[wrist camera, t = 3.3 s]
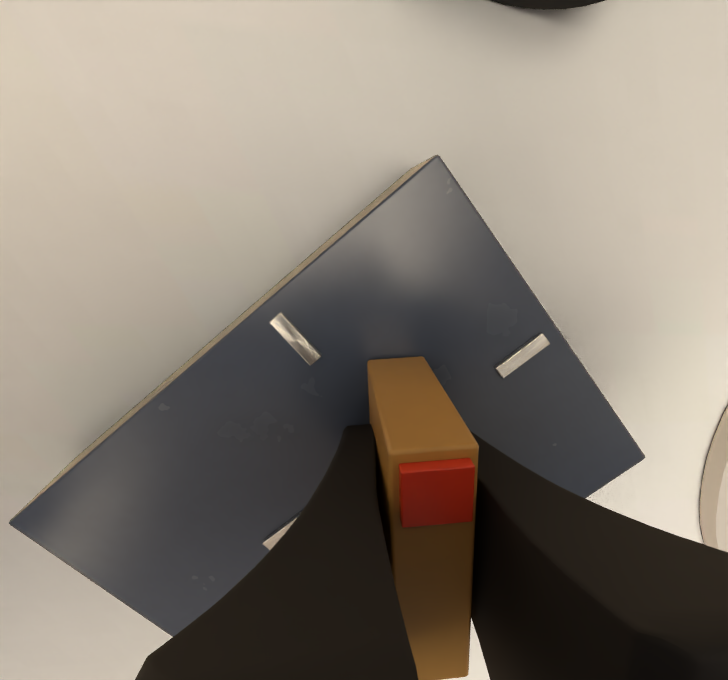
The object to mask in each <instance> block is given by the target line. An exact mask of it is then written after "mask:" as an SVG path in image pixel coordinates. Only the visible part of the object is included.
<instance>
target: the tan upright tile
mask: <svg viewBox="0 0 728 680" xmlns="http://www.w3.org/2000/svg"><path fill="white" fill-rule="evenodd" d="M367 372H368V393H369V415H370V424H371V426H372V428H373V432H374V436H375V443H376V464H377V484H378V505H379V512H380V517H381V522H382V527H383V532H384V537H385V542H386V547H387V552H388V556H389V561H390V565H391V570H392V574H393V579H394V583H395V587H396V592H397V596H398V600H399V604H400V608H401V612H402V616H403V620H404V623H405V627H406V631H407V635H408V639H409V643H410V646H411V650H412V654H413V657H414V661H415V664H416V669H417V675H418V680H441V679H450V678H459V677H466V676H467V675H468V670H469V648H470V626H471V604H472V582H473V560H474V538H475V516H476V495H477V473H478V451H479V446H478V443H477V442H476V440H475V438H474V437H473V435H472V434H471V432H470V430H469V429H468V427H467V426H466V424H465V422H464V421H463V419H462V418H461V416H460V414H459V413H458V411H457V410H456V408H455V406H454V405H453V403H452V402H451V400H450V398H449V397H448V395H447V394H446V392H445V390H444V389H443V387H442V385H441V384H440V382H439V381H438V379H437V377H436V376H435V374H434V373H433V371H432V369H431V368H430V366H429V365H428V363H427V361H426V360H425V358H424V357H422V356H420V357H405V358H391V359H376V360H369V361H368V362H367Z"/></svg>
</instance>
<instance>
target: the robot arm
mask: <svg viewBox="0 0 728 680" xmlns="http://www.w3.org/2000/svg"><path fill="white" fill-rule="evenodd" d="M470 432H471V431H470ZM471 434H472V435H473V437H474V438H475V440H476V442H477V443H478V446H479V451H478V473H477V495H476V516H475V538H474V560H473V582H472V604H471V618H472V621H473V624H474V627H475V630H476V633H477V636H478V639H479V642H480V645H481V649H482V652H483V656H484V659H485V663H486V666H487V670H488V673H489V677H490V680H728V552H725V551H722V550H719V549H716V548H713V547H710V546H707V545H704V544H701V543H698V542H695V541H692V540H688V539H685V538H682V537H679V536H676V535H674V534H671V533H668V532H665V531H663V530H660V529H657V528H654V527H651V526H649V525H646V524H644V523H641V522H639V521H636V520H634V519H631V518H629V517H626V516H624V515H621V514H619V513H616V512H614V511H611V510H609V509H607V508H604V507H602V506H600V505H598V504H595V503H593V502H591V501H589V500H587V499H585V498H583V497H581V496H579V495H577V494H574V493H572V492H570V491H568V490H566V489H564V488H562V487H560V486H558V485H556V484H554V483H553V482H551V481H549V480H547V479H545V478H543V477H542V476H540V475H538V474H536V473H535V472H533V471H531V470H530V469H528V468H526V467H524V466H523V465H521V464H519V463H518V462H516V461H515V460H513V459H511V458H510V457H508V456H507V455H505V454H504V453H502V452H501V451H499V450H498V449H496V448H495V447H493V446H492V445H490V444H489V443H487V442H486V441H484V440H483V439H481V438H480V437H479V436H477V435H476V434H474V433H473V432H471ZM135 680H418V675H417V669H416V664H415V661H414V657H413V654H412V650H411V646H410V643H409V639H408V635H407V631H406V627H405V623H404V620H403V616H402V612H401V608H400V604H399V600H398V596H397V592H396V587H395V583H394V579H393V574H392V570H391V565H390V561H389V556H388V552H387V547H386V542H385V537H384V532H383V527H382V522H381V517H380V512H379V505H378V484H377V464H376V443H375V436H374V432H373V428H372V426H371V424H363V425H351V426H347V427H346V428H345V429H344V430H343V434H342V438H341V441H340V444H339V446H338V449H337V451H336V453H335V456H334V458H333V460H332V462H331V464H330V466H329V468H328V470H327V472H326V474H325V476H324V477H323V479H322V481H321V482H320V484H319V486H318V487H317V489H316V491H315V492H314V494H313V495H312V497H311V499H310V500H309V502H308V503H307V505H306V506H305V508H304V509H303V510H302V512H301V513H300V515H299V516H298V517H297V519H296V520H295V521H294V522H293V524H292V525H291V526H290V528H289V529H288V530H287V531H286V533H285V534H284V535H283V536H282V537H281V538H280V540H279V541H278V542H277V543H276V544H275V545H274V546H273V548H272V549H271V550H270V551H269V552H268V553H267V554H266V556H265V557H264V558H263V559H262V560H261V561H260V562H259V563H258V564H257V565H256V566H255V567H254V568H253V569H252V570H251V571H250V572H249V573H248V574H247V575H246V576H245V577H244V578H243V579H241V580H240V581H239V582H238V583H237V584H236V585H235V586H234V587H233V588H232V589H231V590H230V591H229V592H228V593H227V594H226V595H225V596H223V597H222V598H221V599H220V600H219V601H218V602H216V603H215V604H214V605H213V606H212V607H211V608H209V609H208V610H207V611H206V612H204V613H203V614H202V615H201V616H199V617H198V618H197V619H196V620H194V621H193V622H192V623H190V624H189V625H188V626H187V627H185V628H184V629H183V630H181V631H180V632H179V633H178V634H176V635H175V636H174V637H173V638H171V639H170V640H169V641H167V642H166V643H165V644H164V645H162V646H161V647H160V648H158V649H157V650H155V651H154V652H153V653H151V654H150V655H149V656H148V657H147V658H146V660H145V662H144V664H143V666H142V668H141V670H140V671H139V673H138V675H137V677H136V679H135Z"/></svg>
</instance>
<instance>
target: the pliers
mask: <svg viewBox="0 0 728 680" xmlns="http://www.w3.org/2000/svg"><path fill="white" fill-rule="evenodd" d="M700 525H701V530H702V535H703V540H704V543H705V545H707V546H710V547H713V548H716V549H719V550H722V551H725V552H728V406H727V408H726V410H725V412H724V414H723V416H722V419H721V421H720V424H719V426H718V428H717V431H716V433H715V435H714V438H713V441H712V444H711V447H710V450H709V454H708V457H707V460H706V465H705V470H704V475H703V480H702V487H701V496H700Z"/></svg>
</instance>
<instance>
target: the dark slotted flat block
mask: <svg viewBox="0 0 728 680" xmlns="http://www.w3.org/2000/svg"><path fill="white" fill-rule="evenodd" d="M420 356H422V357H424V358H425V360H426V361H427V363H428V365H429V366H430V368H431V369H432V371H433V373H434V374H435V376H436V377H437V379H438V381H439V382H440V384H441V385H442V387H443V389H444V390H445V392H446V394H447V395H448V397H449V398H450V400H451V402H452V403H453V405H454V406H455V408H456V410H457V411H458V413H459V414H460V416H461V418H462V419H463V421H464V422H465V424H466V426H467V427H468V429H469V430H470V431H471V432H473V433H474V434H476V435H477V436H479V437H480V438H481V439H483V440H484V441H486V442H487V443H489V444H490V445H492V446H493V447H495V448H496V449H498V450H499V451H501V452H502V453H504V454H505V455H507V456H508V457H510V458H511V459H513V460H515V461H516V462H518V463H519V464H521V465H523V466H524V467H526V468H528V469H530V470H531V471H533V472H535V473H536V474H538V475H540V476H542V477H543V478H545V479H547V480H549V481H551V482H553V483H554V484H556V485H558V486H560V487H562V488H564V489H566V490H568V491H570V492H572V493H574V494H577V495H579V496H581V497H583V498H587V497H588V496H590V495H591V494H592V493H594V492H595V491H597V490H598V489H600V488H601V487H603V486H604V485H606V484H607V483H609V482H610V481H612V480H613V479H615V478H616V477H618V476H619V475H621V474H622V473H624V472H625V471H627V470H628V469H630V468H631V467H633V466H634V465H636V464H637V463H639V462H640V461H642V460H643V459H644V458H645V455H644V454H643V452H642V451H641V449H640V448H639V447H638V445H637V444H636V442H635V441H634V439H633V438H632V436H631V435H630V433H629V432H628V430H627V429H626V428H625V426H624V425H623V423H622V422H621V420H620V419H619V417H618V416H617V414H616V413H615V412H614V410H613V409H612V407H611V406H610V404H609V403H608V401H607V400H606V398H605V397H604V395H603V394H602V393H601V391H600V390H599V388H598V387H597V385H596V384H595V382H594V381H593V379H592V378H591V376H590V375H589V374H588V372H587V371H586V369H585V368H584V366H583V365H582V363H581V362H580V360H579V359H578V358H577V356H576V355H575V353H574V352H573V350H572V349H571V347H570V346H569V344H568V343H567V341H566V340H565V339H564V337H563V336H562V334H561V333H560V331H559V330H558V328H557V327H556V325H555V324H554V322H553V321H552V320H551V318H550V317H549V315H548V314H547V312H546V311H545V309H544V308H543V306H542V305H541V304H540V302H539V301H538V299H537V298H536V296H535V295H534V293H533V292H532V290H531V289H530V287H529V286H528V285H527V283H526V282H525V280H524V279H523V277H522V276H521V274H520V273H519V271H518V270H517V268H516V267H515V266H514V264H513V263H512V261H511V260H510V258H509V257H508V255H507V254H506V252H505V251H504V250H503V248H502V247H501V245H500V244H499V242H498V241H497V239H496V238H495V236H494V235H493V233H492V232H491V231H490V229H489V228H488V226H487V225H486V223H485V222H484V220H483V219H482V217H481V216H480V214H479V213H478V212H477V210H476V209H475V207H474V206H473V204H472V203H471V201H470V200H469V198H468V197H467V196H466V194H465V193H464V191H463V190H462V188H461V187H460V185H459V184H458V182H457V181H456V179H455V178H454V177H453V175H452V174H451V172H450V171H449V169H448V168H447V166H446V165H445V163H444V162H443V160H442V159H441V158H440V156H439V155H435V156H433V157H431V158H429V159H428V160H426V161H424V162H422V163H420V164H419V165H417V166H415V167H413V168H411V169H410V170H409V171H408V172H406V173H405V174H404V175H403V176H402V177H401V178H399V179H398V180H397V181H396V182H395V183H394V184H393V185H391V186H390V187H389V188H388V189H387V190H386V191H384V192H383V193H382V194H381V195H380V196H379V197H377V198H376V199H375V200H374V201H373V202H372V203H370V204H369V205H368V206H367V207H366V208H365V209H364V210H362V211H361V212H360V213H359V214H358V215H357V216H355V217H354V218H353V219H352V220H351V221H350V222H348V223H347V224H346V225H345V226H344V227H343V228H341V229H340V230H339V231H338V232H337V233H336V234H335V235H333V236H332V237H331V238H330V239H329V240H328V241H326V242H325V243H324V244H323V245H322V246H321V247H319V248H318V249H317V250H316V251H315V252H314V253H312V254H311V255H310V256H309V257H308V258H307V259H306V260H304V261H303V262H302V263H301V264H300V265H299V266H297V267H296V268H295V269H294V270H293V271H292V272H290V273H289V274H288V275H287V276H286V277H285V278H283V279H282V280H281V281H280V282H279V283H278V284H277V285H275V286H274V287H273V288H272V289H271V290H270V291H268V292H267V293H266V294H265V295H264V296H263V297H261V298H260V299H259V300H258V301H257V302H256V303H254V304H253V305H252V306H251V307H250V308H249V309H248V310H246V311H245V312H244V313H243V314H242V315H241V316H239V317H238V318H237V319H236V320H235V321H234V322H232V323H231V324H230V325H229V326H228V327H227V328H225V329H224V330H223V331H222V332H221V333H220V334H219V335H217V336H216V337H215V338H214V339H213V340H212V341H210V342H209V343H208V344H207V345H206V346H205V347H203V348H202V349H201V350H200V351H199V352H198V353H197V354H195V355H194V356H193V357H192V358H191V359H190V360H188V361H187V362H186V363H185V364H184V365H183V366H181V367H180V368H179V369H178V370H177V371H176V372H174V373H173V374H172V375H171V376H170V377H169V378H168V379H166V380H165V381H164V382H163V383H162V384H161V385H159V386H158V387H157V388H156V389H155V390H154V391H152V392H151V393H150V394H149V395H148V396H147V397H145V398H144V399H143V400H142V401H141V402H140V403H139V404H137V405H136V406H135V407H134V408H133V409H132V410H130V411H129V412H128V413H127V414H126V415H125V416H123V417H122V418H121V419H120V420H119V421H118V422H116V423H115V424H114V425H113V426H112V427H111V428H110V429H108V430H107V431H106V432H105V433H104V434H103V435H101V436H100V437H99V438H98V439H97V440H96V441H94V442H93V443H92V444H91V445H90V446H89V447H87V448H86V449H85V450H84V451H83V452H82V453H81V454H79V455H78V456H77V457H76V458H75V459H74V460H73V461H72V462H71V463H70V464H69V465H68V466H66V467H65V468H64V469H63V470H62V471H61V472H60V473H59V474H58V475H57V476H56V477H55V478H54V479H53V480H52V481H51V482H50V483H49V484H48V485H47V486H46V487H45V488H43V489H42V490H41V491H40V492H39V493H38V494H37V495H36V496H35V497H34V498H33V499H32V500H31V501H30V502H29V503H28V504H27V505H26V506H25V507H24V508H23V509H22V510H20V511H19V512H18V513H17V514H16V515H15V516H14V517H13V518H12V519H11V520H10V522H9V524H10V525H11V526H13V527H14V528H16V529H17V530H19V531H20V532H21V533H23V534H24V535H26V536H27V537H29V538H30V539H32V540H33V541H34V542H36V543H37V544H39V545H40V546H42V547H43V548H45V549H46V550H48V551H49V552H50V553H52V554H53V555H55V556H56V557H58V558H59V559H61V560H62V561H64V562H65V563H66V564H68V565H69V566H71V567H72V568H74V569H75V570H77V571H78V572H80V573H81V574H82V575H84V576H85V577H87V578H88V579H90V580H91V581H93V582H94V583H95V584H97V585H98V586H100V587H101V588H103V589H104V590H106V591H107V592H109V593H110V594H111V595H113V596H114V597H116V598H117V599H119V600H120V601H122V602H123V603H125V604H126V605H127V606H129V607H130V608H132V609H133V610H135V611H136V612H138V613H139V614H141V615H142V616H143V617H145V618H146V619H148V620H149V621H151V622H152V623H154V624H155V625H156V626H158V627H159V628H161V629H162V630H164V631H165V632H167V633H168V634H170V635H171V636H172V637H174V636H175V635H176V634H178V633H179V632H180V631H181V630H183V629H184V628H185V627H187V626H188V625H189V624H190V623H192V622H193V621H194V620H196V619H197V618H198V617H199V616H201V615H202V614H203V613H204V612H206V611H207V610H208V609H209V608H211V607H212V606H213V605H214V604H215V603H216V602H218V601H219V600H220V599H221V598H222V597H223V596H225V595H226V594H227V593H228V592H229V591H230V590H231V589H232V588H233V587H234V586H235V585H236V584H237V583H238V582H239V581H240V580H241V579H243V578H244V577H245V576H246V575H247V574H248V573H249V572H250V571H251V570H252V569H253V568H254V567H255V566H256V565H257V564H258V563H259V562H260V561H261V560H262V559H263V558H264V557H265V556H266V554H267V553H268V552H269V551H270V550H271V549H272V548H273V546H274V545H275V544H276V543H277V542H278V541H279V540H280V538H281V537H282V536H283V535H284V534H285V533H286V531H287V530H288V529H289V528H290V526H291V525H292V524H293V522H294V521H295V520H296V519H297V517H298V516H299V515H300V513H301V512H302V510H303V509H304V508H305V506H306V505H307V503H308V502H309V500H310V499H311V497H312V495H313V494H314V492H315V491H316V489H317V487H318V486H319V484H320V482H321V481H322V479H323V477H324V476H325V474H326V472H327V470H328V468H329V466H330V464H331V462H332V460H333V458H334V456H335V453H336V451H337V449H338V446H339V444H340V441H341V438H342V434H343V430H344V429H345V428H346V427H347V426H351V425H363V424H370V415H369V393H368V372H367V362H368V361H369V360H376V359H391V358H405V357H420Z"/></svg>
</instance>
